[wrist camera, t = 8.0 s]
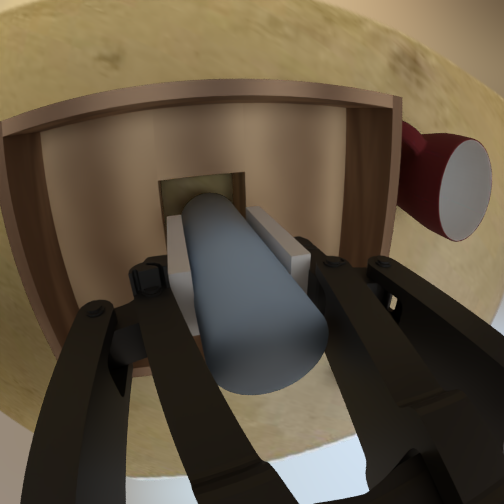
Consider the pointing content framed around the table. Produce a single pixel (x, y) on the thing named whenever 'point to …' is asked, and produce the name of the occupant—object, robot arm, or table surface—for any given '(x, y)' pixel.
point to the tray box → (188, 165)
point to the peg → (247, 303)
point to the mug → (444, 181)
